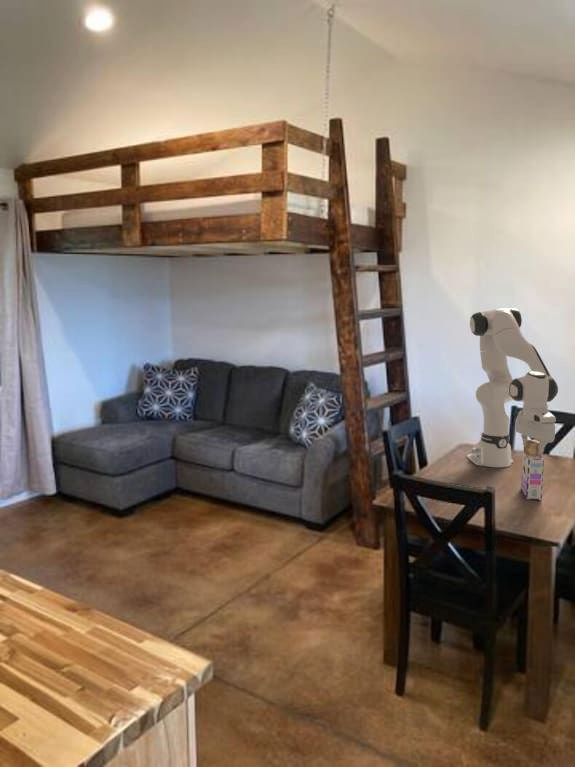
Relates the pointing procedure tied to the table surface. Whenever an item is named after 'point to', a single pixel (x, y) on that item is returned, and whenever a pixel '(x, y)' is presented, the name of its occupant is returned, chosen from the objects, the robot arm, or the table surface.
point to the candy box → (532, 476)
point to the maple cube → (532, 447)
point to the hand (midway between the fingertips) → (533, 448)
